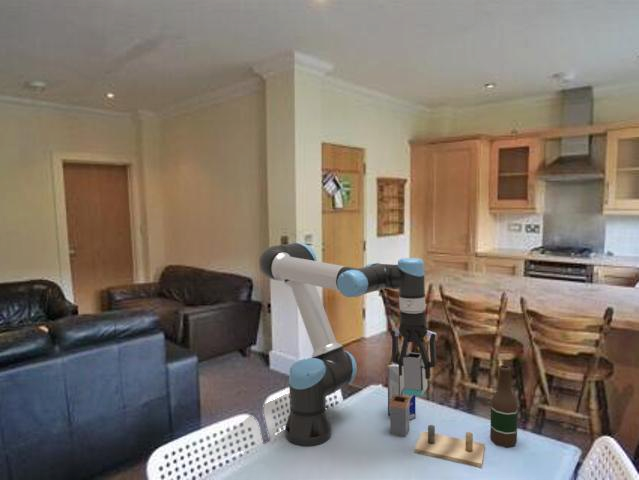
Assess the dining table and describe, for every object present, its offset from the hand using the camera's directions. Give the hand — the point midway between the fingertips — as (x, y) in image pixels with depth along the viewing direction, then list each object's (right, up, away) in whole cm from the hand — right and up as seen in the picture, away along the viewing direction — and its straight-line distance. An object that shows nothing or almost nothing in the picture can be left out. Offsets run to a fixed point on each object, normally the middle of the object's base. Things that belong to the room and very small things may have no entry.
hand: (414, 387), depth 129 cm
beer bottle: (+29, -19, +6) cm, 35 cm away
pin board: (+11, -20, +2) cm, 22 cm away
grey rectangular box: (0, -1, 0) cm, 1 cm away
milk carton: (0, -18, +22) cm, 29 cm away
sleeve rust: (-2, -19, +13) cm, 23 cm away
